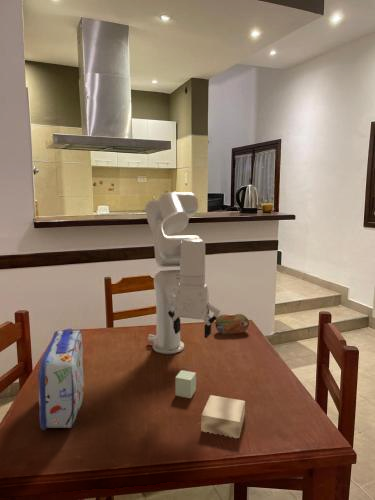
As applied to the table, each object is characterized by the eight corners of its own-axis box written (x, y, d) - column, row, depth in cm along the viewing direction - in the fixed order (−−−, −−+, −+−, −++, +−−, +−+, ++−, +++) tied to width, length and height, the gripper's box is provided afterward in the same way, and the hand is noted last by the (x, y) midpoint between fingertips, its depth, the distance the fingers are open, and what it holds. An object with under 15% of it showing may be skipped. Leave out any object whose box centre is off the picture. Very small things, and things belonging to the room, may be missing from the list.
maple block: (201, 432, 98) (201, 414, 98) (210, 411, 108) (210, 395, 107) (238, 439, 96) (239, 421, 95) (244, 417, 105) (245, 400, 104)
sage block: (175, 395, 115) (175, 377, 115) (181, 387, 120) (181, 370, 119) (190, 398, 114) (190, 380, 113) (195, 390, 118) (196, 372, 117)
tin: (215, 334, 164) (215, 316, 163) (214, 331, 167) (214, 313, 166) (248, 333, 166) (249, 314, 164) (246, 330, 169) (247, 312, 168)
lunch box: (52, 385, 121) (49, 320, 117) (85, 382, 123) (83, 318, 119) (36, 441, 94) (31, 359, 90) (79, 436, 96) (75, 356, 92)
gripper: (160, 280, 111) (161, 334, 114) (216, 285, 105) (215, 342, 108) (170, 275, 118) (170, 326, 121) (223, 279, 112) (222, 333, 115)
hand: (192, 334), depth 114 cm, fingers open, 9 cm apart
